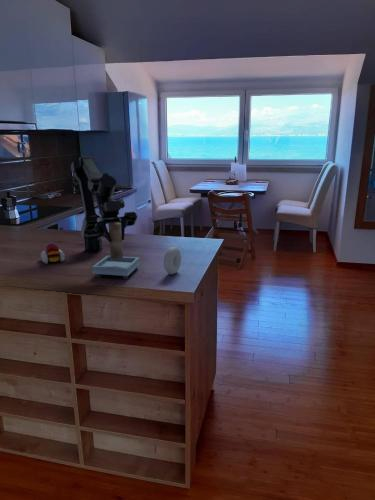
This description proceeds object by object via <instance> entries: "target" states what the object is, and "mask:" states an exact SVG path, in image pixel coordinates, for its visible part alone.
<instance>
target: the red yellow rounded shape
mask: <svg viewBox="0 0 375 500" xmlns="http://www.w3.org/2000/svg"><path fill="white" fill-rule="evenodd" d="M40 259H41V260H42V262H43V263H44V264H49V262H52V263H56V262H58V261H59V262H61V263H62V262H64V261H65V259H66V254H65V253H64V252H63V250H61V249H60V248H59V247H58V245H57V244H56V243H53V242H50V243H48V244H47V245H46V246H45V249H44V250H43V251H42V252H40Z"/></svg>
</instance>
